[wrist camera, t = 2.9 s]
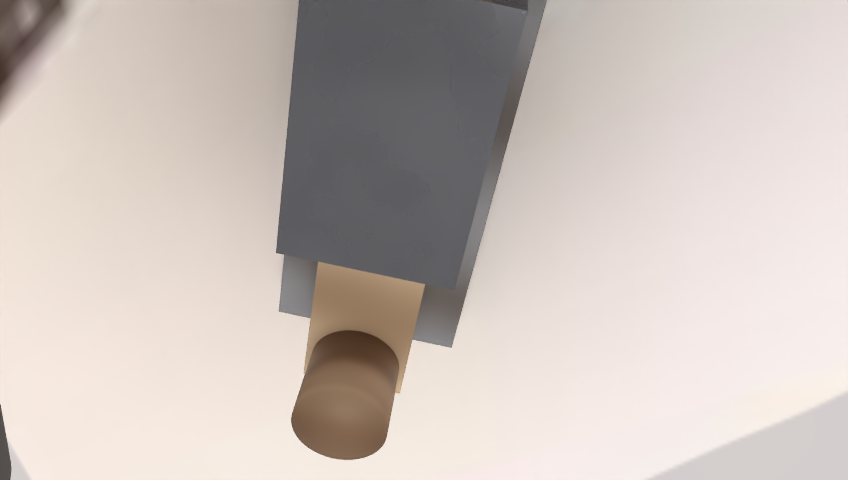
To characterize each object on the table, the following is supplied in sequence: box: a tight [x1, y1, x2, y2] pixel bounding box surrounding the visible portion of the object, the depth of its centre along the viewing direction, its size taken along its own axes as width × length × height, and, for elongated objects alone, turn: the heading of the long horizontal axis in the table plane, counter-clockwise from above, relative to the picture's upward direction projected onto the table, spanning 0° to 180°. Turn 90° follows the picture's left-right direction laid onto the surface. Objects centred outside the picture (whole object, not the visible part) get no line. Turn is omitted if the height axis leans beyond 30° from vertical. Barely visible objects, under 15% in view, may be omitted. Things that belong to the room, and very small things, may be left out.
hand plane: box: [279, 0, 547, 460], centre depth 24 cm, size 23×7×8 cm, turn 170°
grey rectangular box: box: [276, 0, 528, 290], centre depth 21 cm, size 8×5×4 cm, turn 170°
